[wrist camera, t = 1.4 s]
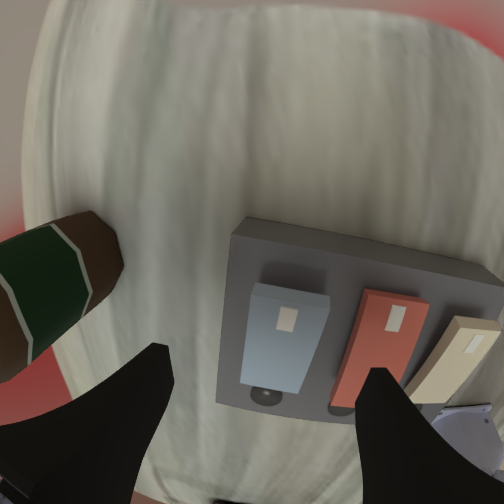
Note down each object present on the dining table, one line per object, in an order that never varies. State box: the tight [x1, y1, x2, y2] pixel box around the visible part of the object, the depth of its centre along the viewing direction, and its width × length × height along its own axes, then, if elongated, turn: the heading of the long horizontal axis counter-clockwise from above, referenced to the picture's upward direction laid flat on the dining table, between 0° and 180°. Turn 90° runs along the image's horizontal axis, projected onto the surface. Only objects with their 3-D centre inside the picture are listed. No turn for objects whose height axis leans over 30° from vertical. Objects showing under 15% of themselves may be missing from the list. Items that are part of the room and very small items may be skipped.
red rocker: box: [330, 288, 430, 408], centre depth 14 cm, size 4×7×1 cm, turn 173°
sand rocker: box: [404, 316, 501, 403], centre depth 13 cm, size 4×7×1 cm, turn 173°
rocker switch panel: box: [216, 217, 504, 425], centre depth 18 cm, size 18×13×4 cm
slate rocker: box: [240, 282, 330, 394], centre depth 15 cm, size 4×7×1 cm, turn 173°
